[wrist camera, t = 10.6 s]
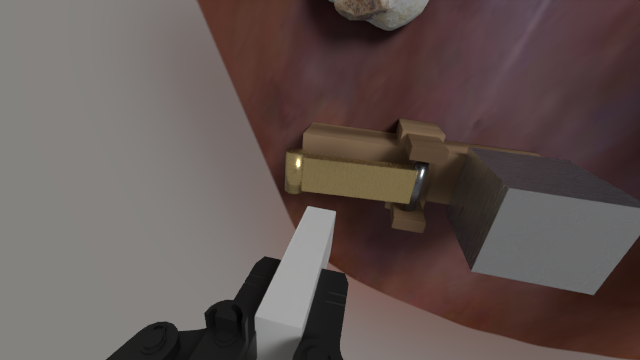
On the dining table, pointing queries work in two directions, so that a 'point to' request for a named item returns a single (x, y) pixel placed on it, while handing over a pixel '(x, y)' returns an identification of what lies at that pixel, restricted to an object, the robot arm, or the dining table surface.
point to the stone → (381, 11)
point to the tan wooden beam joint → (400, 158)
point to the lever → (354, 177)
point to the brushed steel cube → (540, 220)
